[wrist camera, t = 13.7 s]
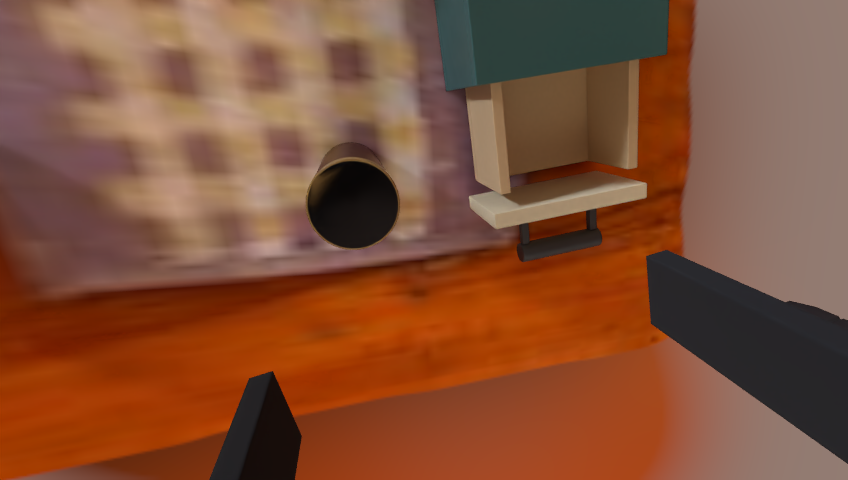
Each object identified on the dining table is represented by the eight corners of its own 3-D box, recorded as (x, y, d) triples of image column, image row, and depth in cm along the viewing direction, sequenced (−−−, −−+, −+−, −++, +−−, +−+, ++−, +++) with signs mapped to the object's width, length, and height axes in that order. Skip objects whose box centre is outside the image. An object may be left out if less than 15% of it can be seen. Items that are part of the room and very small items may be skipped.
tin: (327, 209, 36) (318, 258, 24) (312, 147, 34) (294, 168, 22) (387, 197, 36) (407, 240, 24) (376, 136, 34) (391, 151, 23)
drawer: (597, 225, 40) (645, 247, 33) (475, 251, 38) (501, 280, 32) (594, 10, 34) (652, -13, 27) (448, 32, 32) (473, 13, 26)
